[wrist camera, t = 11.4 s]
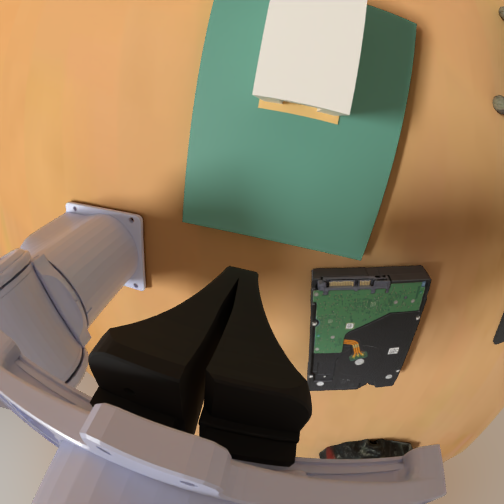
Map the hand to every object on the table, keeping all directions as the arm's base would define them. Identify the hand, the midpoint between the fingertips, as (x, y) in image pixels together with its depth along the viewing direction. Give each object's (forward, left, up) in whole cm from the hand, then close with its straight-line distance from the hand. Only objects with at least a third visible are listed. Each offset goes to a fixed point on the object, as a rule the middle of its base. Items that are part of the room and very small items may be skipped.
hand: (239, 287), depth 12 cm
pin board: (+1, +8, -9) cm, 12 cm away
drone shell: (+31, -44, -10) cm, 55 cm away
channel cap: (+1, +12, -8) cm, 15 cm away
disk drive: (+11, -9, -10) cm, 18 cm away
